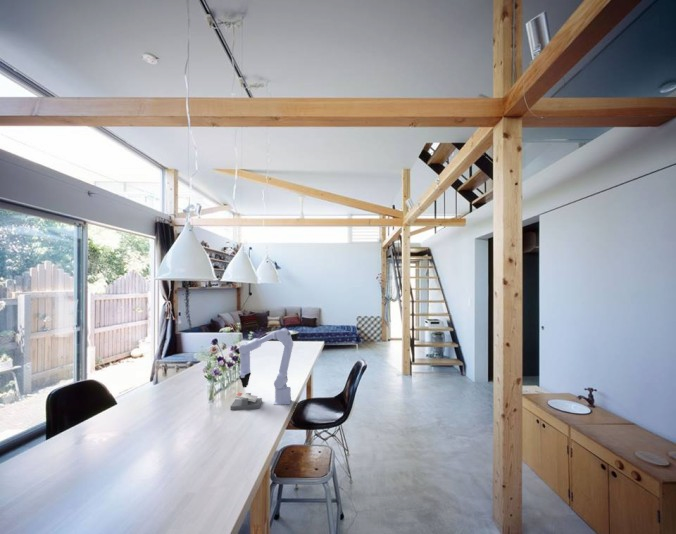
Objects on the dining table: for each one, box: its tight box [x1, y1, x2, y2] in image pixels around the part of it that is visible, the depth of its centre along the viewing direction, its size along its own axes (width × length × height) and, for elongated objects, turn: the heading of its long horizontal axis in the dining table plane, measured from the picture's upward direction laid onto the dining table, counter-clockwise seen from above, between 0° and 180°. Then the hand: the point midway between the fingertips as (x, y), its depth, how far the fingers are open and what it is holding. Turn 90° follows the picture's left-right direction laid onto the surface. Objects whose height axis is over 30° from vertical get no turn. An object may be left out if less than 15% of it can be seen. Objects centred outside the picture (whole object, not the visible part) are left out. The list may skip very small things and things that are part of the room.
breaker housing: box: [230, 392, 263, 411], centre depth 189 cm, size 16×11×6 cm
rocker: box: [235, 391, 259, 402], centre depth 189 cm, size 12×6×1 cm, turn 93°
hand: (245, 386), depth 195 cm, fingers open, 3 cm apart
